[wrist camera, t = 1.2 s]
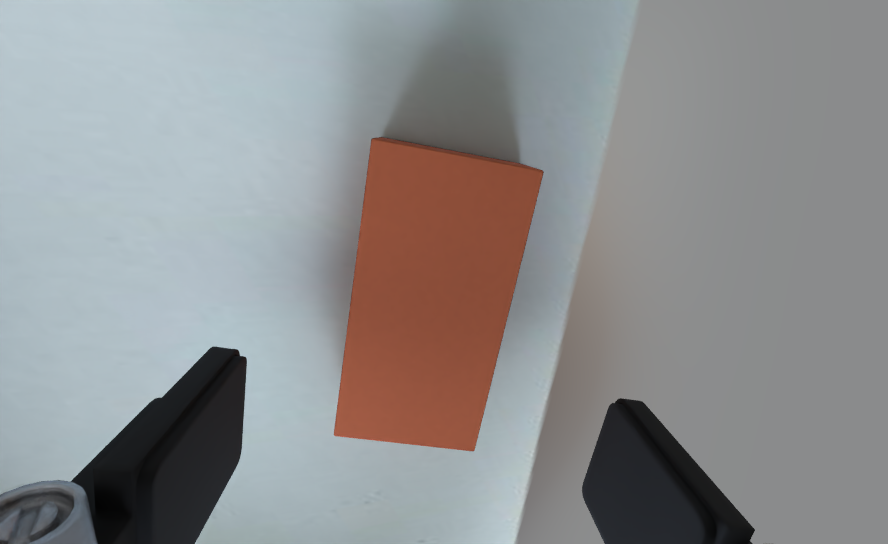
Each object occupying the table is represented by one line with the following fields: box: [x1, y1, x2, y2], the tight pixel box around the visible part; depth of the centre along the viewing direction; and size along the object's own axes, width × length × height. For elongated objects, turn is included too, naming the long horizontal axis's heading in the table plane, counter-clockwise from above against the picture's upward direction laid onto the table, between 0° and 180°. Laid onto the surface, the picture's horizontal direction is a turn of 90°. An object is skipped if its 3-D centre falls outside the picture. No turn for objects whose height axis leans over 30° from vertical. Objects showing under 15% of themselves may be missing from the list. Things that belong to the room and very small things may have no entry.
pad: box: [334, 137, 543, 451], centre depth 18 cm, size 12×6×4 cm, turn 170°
